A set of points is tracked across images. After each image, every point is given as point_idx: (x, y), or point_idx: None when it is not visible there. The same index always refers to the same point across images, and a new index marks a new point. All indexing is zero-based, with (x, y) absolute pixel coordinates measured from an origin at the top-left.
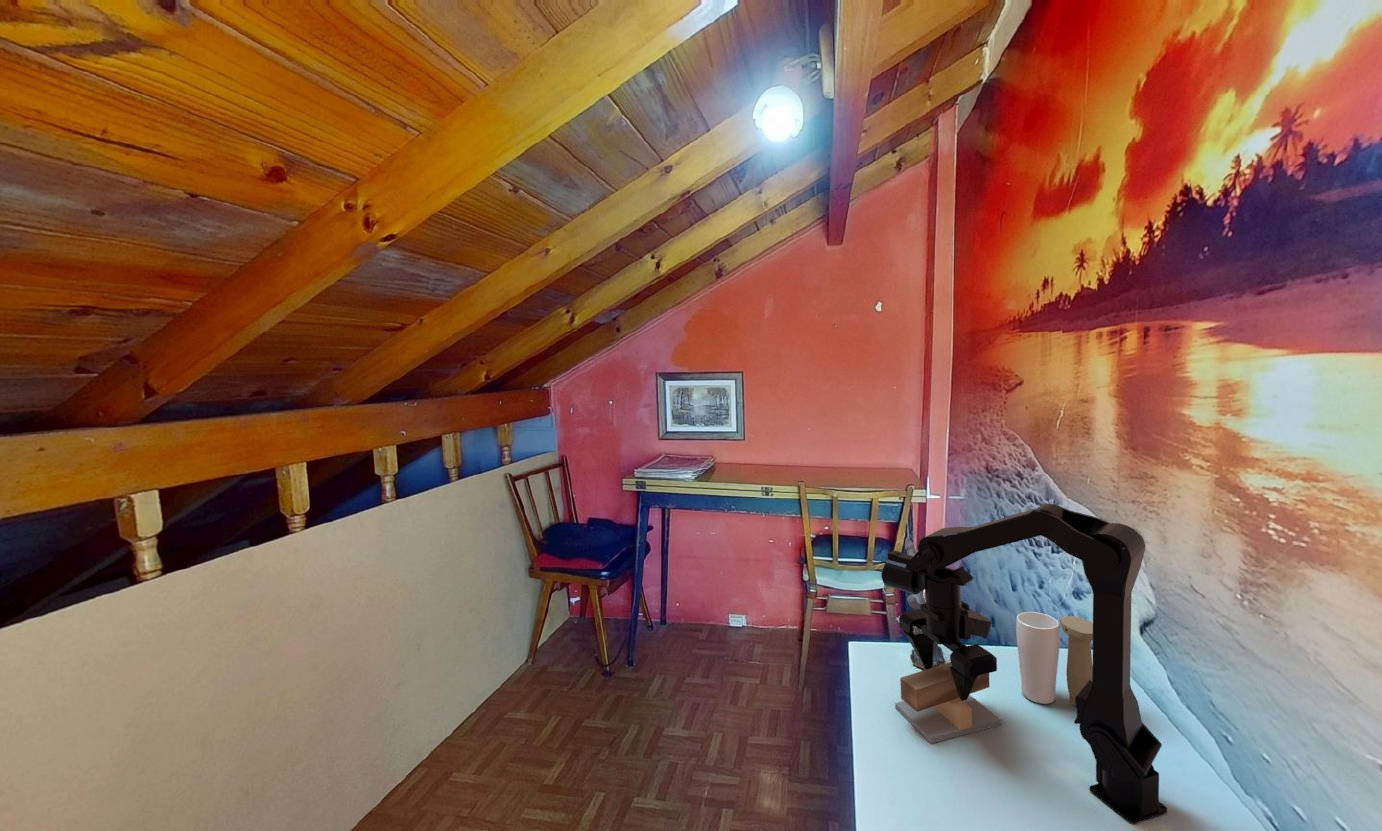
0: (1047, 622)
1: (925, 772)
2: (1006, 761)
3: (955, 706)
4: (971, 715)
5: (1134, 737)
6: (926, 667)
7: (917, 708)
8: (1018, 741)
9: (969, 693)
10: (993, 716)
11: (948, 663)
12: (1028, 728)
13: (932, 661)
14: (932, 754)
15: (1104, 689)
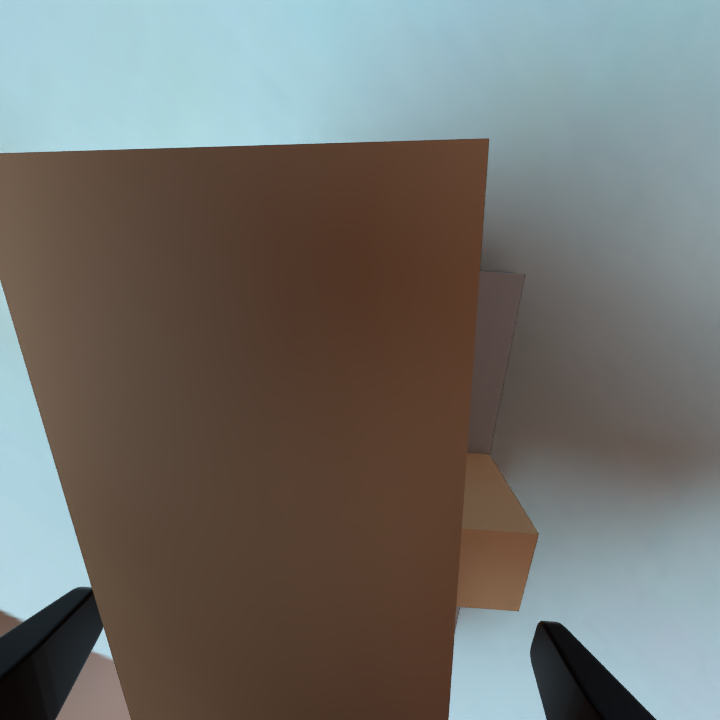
0: None
1: None
2: (683, 448)
3: (471, 601)
4: (516, 499)
5: None
6: (70, 679)
7: None
8: (642, 296)
9: (624, 690)
10: (485, 290)
11: (136, 673)
12: (614, 150)
13: (4, 679)
14: (494, 638)
15: None
